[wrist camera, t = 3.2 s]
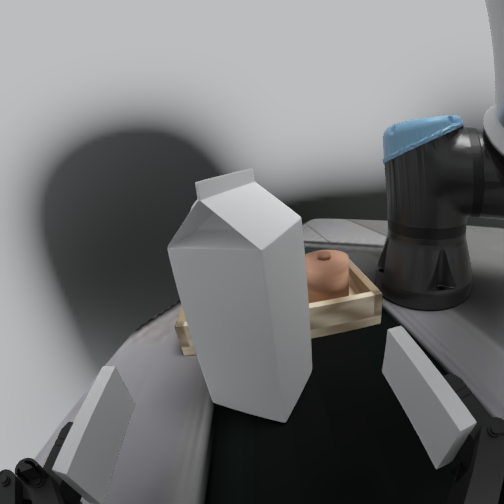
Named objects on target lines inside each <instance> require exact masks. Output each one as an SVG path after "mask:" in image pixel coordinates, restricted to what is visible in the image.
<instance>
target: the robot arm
mask: <svg viewBox="0 0 504 504" xmlns="http://www.w3.org/2000/svg"><path fill="white" fill-rule="evenodd" d="M485 1H486V6H487V11H488V16H489V22H490V29H491V36H492V43H493V53H494V66H495V89H496V90H495V93H496V95H495V97H496V98H495V100H496V101H495V102H496V103H495V105H493V106H491V107H490V108H489V109H488V110H487V111H486V113H485V115H484V120H483V121H484V122H483V128H465V127H463V126H464V122H463V121H462V118H461V117H460V116H455V115H453V116H437V117H428V118H420V119H415V120H410V121H405V122H401V123H397V124H394V125H392V126H390V127H388V128H387V129H386V131H385V132H384V136H383V148H384V159H383V163H384V164H385V175H386V188H387V208H388V234H387V238H386V241H385V244H384V247H383V250H382V253H381V256H380V259H379V262H378V265H377V269H376V287H377V288H378V289H379V290H380V291H381V292H382V293H383V294H382V295H383V296H384V297H385V298H387V299H388V300H390V301H392V302H394V303H396V304H399V305H402V306H405V307H409V308H414V309H421V310H439V309H445V308H450V307H453V306H456V305H458V304H460V303H462V302H463V301H464V300H465V299H466V298H467V297H468V296H469V294H470V290H471V284H472V269H471V263H470V257H469V252H468V246H467V241H466V221H467V217H481V218H491V219H501V220H504V0H485ZM382 373H383V374H384V376H385V378H386V379H387V381H388V383H389V384H390V386H391V388H392V390H393V391H394V393H395V395H396V397H397V398H398V400H399V402H400V404H401V405H402V407H403V409H404V411H405V412H406V414H407V416H408V418H409V420H410V421H411V423H412V425H413V427H414V429H415V431H416V432H417V434H418V436H419V438H420V440H421V442H422V444H423V445H424V447H425V449H426V451H427V453H428V455H429V457H430V459H431V461H432V463H433V464H434V466H435V468H436V469H438V468H441V467H443V466H445V465H447V464H448V463H450V462H452V461H453V459H454V458H455V456H456V455H457V456H458V457H459V459H460V460H459V461H458V463H457V464H456V465H455V467H454V468H453V470H452V473H454V471H455V470H456V472H455V475H454V478H453V481H452V485H451V488H450V491H449V494H448V497H447V499H446V502H445V504H504V420H503V419H501V418H498V417H494V418H492V417H491V416H490V415H489V414H488V412H487V411H486V410H485V408H484V407H483V406H482V405H481V403H480V402H479V401H478V399H477V398H476V397H475V396H474V394H472V392H471V391H470V389H469V388H467V386H466V384H465V383H464V382H463V381H462V379H461V378H459V377H457V376H456V375H454V374H452V373H450V374H448V375H445V376H442V375H441V373H440V372H439V371H438V370H437V368H436V367H435V366H434V365H433V363H432V362H431V361H430V360H429V358H428V357H427V356H426V355H425V353H424V352H423V351H422V350H421V348H420V347H419V346H418V345H417V344H416V342H415V341H414V340H413V339H412V338H411V336H410V335H409V334H408V333H407V332H406V330H405V329H404V328H403V327H402V326H398V327H394V328H391V329H388V331H387V340H386V348H385V355H384V362H383V369H382ZM134 406H135V403H134V401H133V399H132V397H131V395H130V394H129V392H128V390H127V388H126V386H125V384H124V382H123V380H122V378H121V376H120V374H119V372H118V370H117V368H116V366H103V367H102V369H101V371H100V373H99V374H98V376H97V378H96V380H95V382H94V384H93V385H92V387H91V389H90V391H89V393H88V395H87V397H86V399H85V401H84V403H83V405H82V407H81V409H80V411H79V413H78V415H77V417H76V419H75V421H74V423H73V422H68V423H67V424H66V425H65V426H64V427H63V428H62V430H61V432H60V434H59V436H58V439H57V440H56V442H55V446H53V448H52V450H51V452H50V454H49V456H48V459H47V461H46V463H45V465H44V467H43V468H42V467H41V466H40V465H39V464H38V463H37V462H36V461H35V460H34V459H31V458H25V459H23V460H21V461H20V462H19V463H18V464H17V465H16V468H15V474H16V475H17V476H16V475H15V474H14V473H13V472H12V471H10V470H6V469H5V470H2V471H1V472H0V504H82V502H81V501H80V500H81V497H83V498H84V499H85V500H87V501H88V502H90V503H94V504H104V502H105V499H106V495H107V491H108V488H109V484H110V481H111V478H112V474H113V471H114V468H115V464H116V461H117V458H118V455H119V451H120V448H121V445H122V442H123V439H124V436H125V433H126V430H127V427H128V424H129V421H130V418H131V415H132V412H133V409H134Z"/></svg>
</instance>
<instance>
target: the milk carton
mask: <svg viewBox="0 0 504 504" xmlns="http://www.w3.org/2000/svg"><path fill="white" fill-rule="evenodd" d="M195 186H196V192H197V197H198V199H197V201H196V202H195V203H194V204H193V206H192V208H191V212H190V213H189V215H188V216H187V218H186V219H185V221H184V222H183V224H182V225H181V227H180V228H179V230H178V231H177V233H176V234H175V236H174V237H173V239H172V240H171V242H170V244H169V245H168V247H167V248H168V253H169V257H170V261H171V265H172V269H173V274H174V278H175V282H176V285H177V289H178V293H179V296H180V300H181V304H182V307H183V311H184V314H185V318H186V321H187V325H188V328H189V332H190V335H191V338H192V341H193V345H194V348H195V351H196V354H197V357H198V360H199V364H200V367H201V370H202V373H203V376H204V379H205V382H206V384H207V387H208V390H209V393H210V396H211V399H212V401H213V403H216V404H219V405H222V406H225V407H228V408H231V409H235V410H238V411H241V412H245V413H248V414H252V415H255V416H259V417H263V418H267V419H270V420H274V421H279V422H283V423H285V422H286V421H287V420H288V418H289V416H290V414H291V412H292V410H293V408H294V406H295V405H296V403H297V401H298V399H299V397H300V395H301V393H302V391H303V389H304V387H305V385H306V383H307V380H308V378H309V376H310V374H311V372H312V351H311V332H310V315H309V300H308V287H307V274H306V262H305V251H304V241H303V231H302V222H301V217H300V216H299V215H298V214H296V213H295V212H294V211H293V210H291V209H290V208H288V207H287V206H286V205H284V203H282V202H281V201H279V200H278V199H277V198H276V197H274V196H273V195H272V194H270V193H269V192H268V191H266V190H265V189H264V188H262V187H261V186H260V185H258V184H257V183H256V182H255V179H254V172H253V169H246V170H242V171H238V172H234V173H230V174H226V175H222V176H218V177H214V178H210V179H206V180H203V181H199V182H196V183H195Z"/></svg>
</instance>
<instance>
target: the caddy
mask: <svg viewBox="0 0 504 504" xmlns="http://www.w3.org/2000/svg"><path fill="white" fill-rule="evenodd" d="M305 262H306V274H307V287H308V300H309V315H310V332H311V338H316V337H322V336H327V335H331V334H336V333H341V332H346V331H350V330H355V329H359V328H363V327H368V326H372V325H376V324H380V323H381V311H382V294H383V293H382V292H381V291H380V290H379V289H378V288H377V287H376V286H375V285H374V284H373V283H372V282H371V281H370V280H369V279H368V278H367V277H366V276H365V275H364V274H363V273H362V272H361V270H360V269H359V268H358V267H357V266H356V265H355V264H354V263H353V262H352V261H351V260H350V259H349V258H348V255H347V254H346V253H344V252H341V251H337V250H319V251H314V252H310V253H307V254H305ZM175 330H176V333H177V336H178V339H179V342H180V345H181V348H182V351H183V354H184V356H186V355H197V354H196V351H195V348H194V345H193V341H192V338H191V335H190V332H189V328H188V325H187V321H186V318H185V314H184V311H183V307H181V310H180V313H179V316H178V319H177V322H176V325H175Z"/></svg>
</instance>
